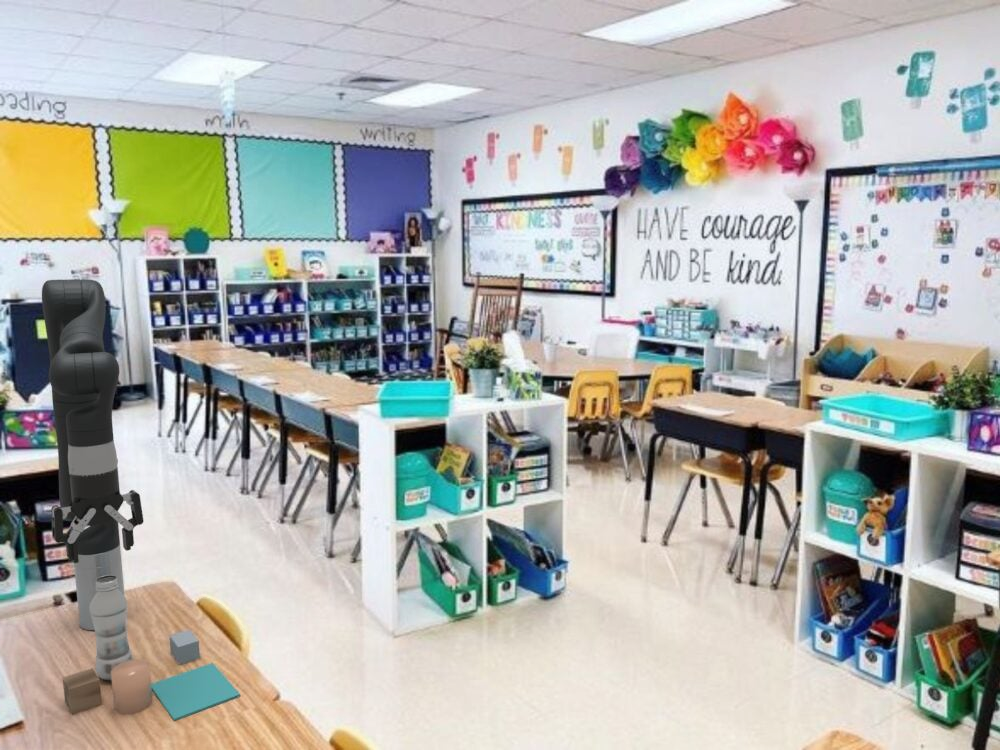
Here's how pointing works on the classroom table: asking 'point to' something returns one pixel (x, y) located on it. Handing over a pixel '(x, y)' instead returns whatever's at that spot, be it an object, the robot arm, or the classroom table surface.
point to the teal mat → (194, 691)
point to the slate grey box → (184, 646)
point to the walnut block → (82, 691)
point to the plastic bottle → (109, 626)
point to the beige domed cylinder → (131, 686)
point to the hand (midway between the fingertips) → (101, 555)
